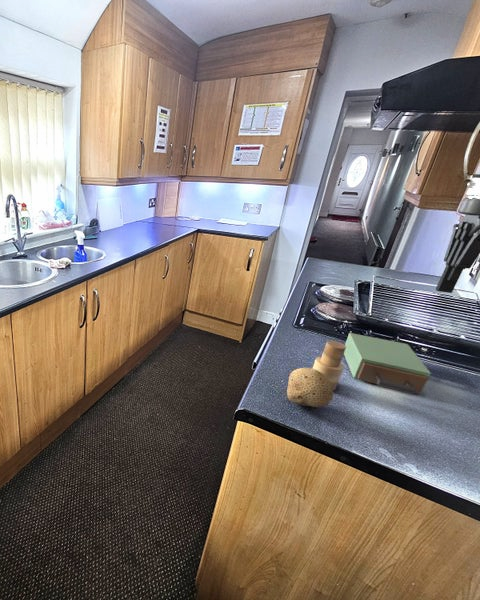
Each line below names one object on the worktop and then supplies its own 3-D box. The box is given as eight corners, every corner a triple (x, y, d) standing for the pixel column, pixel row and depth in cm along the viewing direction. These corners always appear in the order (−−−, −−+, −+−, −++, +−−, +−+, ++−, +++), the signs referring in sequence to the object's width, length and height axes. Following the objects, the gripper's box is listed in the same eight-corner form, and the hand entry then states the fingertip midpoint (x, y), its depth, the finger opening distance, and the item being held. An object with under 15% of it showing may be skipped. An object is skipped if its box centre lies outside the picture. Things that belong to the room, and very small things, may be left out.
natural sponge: (330, 405, 79) (343, 372, 75) (320, 424, 74) (334, 389, 70) (288, 388, 85) (298, 356, 81) (277, 404, 80) (287, 371, 76)
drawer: (426, 404, 79) (435, 387, 77) (361, 388, 85) (368, 372, 83) (399, 364, 96) (406, 350, 94) (346, 353, 101) (352, 339, 99)
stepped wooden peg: (333, 382, 88) (348, 342, 84) (337, 395, 84) (353, 353, 79) (307, 376, 91) (320, 336, 86) (309, 387, 86) (323, 346, 81)
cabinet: (419, 395, 84) (431, 373, 81) (353, 379, 90) (361, 358, 87) (398, 363, 98) (407, 344, 95) (342, 351, 104) (349, 332, 101)
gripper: (453, 195, 84) (415, 281, 93) (479, 199, 73) (434, 296, 82) (494, 197, 81) (451, 286, 90) (529, 201, 70) (476, 302, 79)
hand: (443, 291), depth 86 cm, fingers closed
